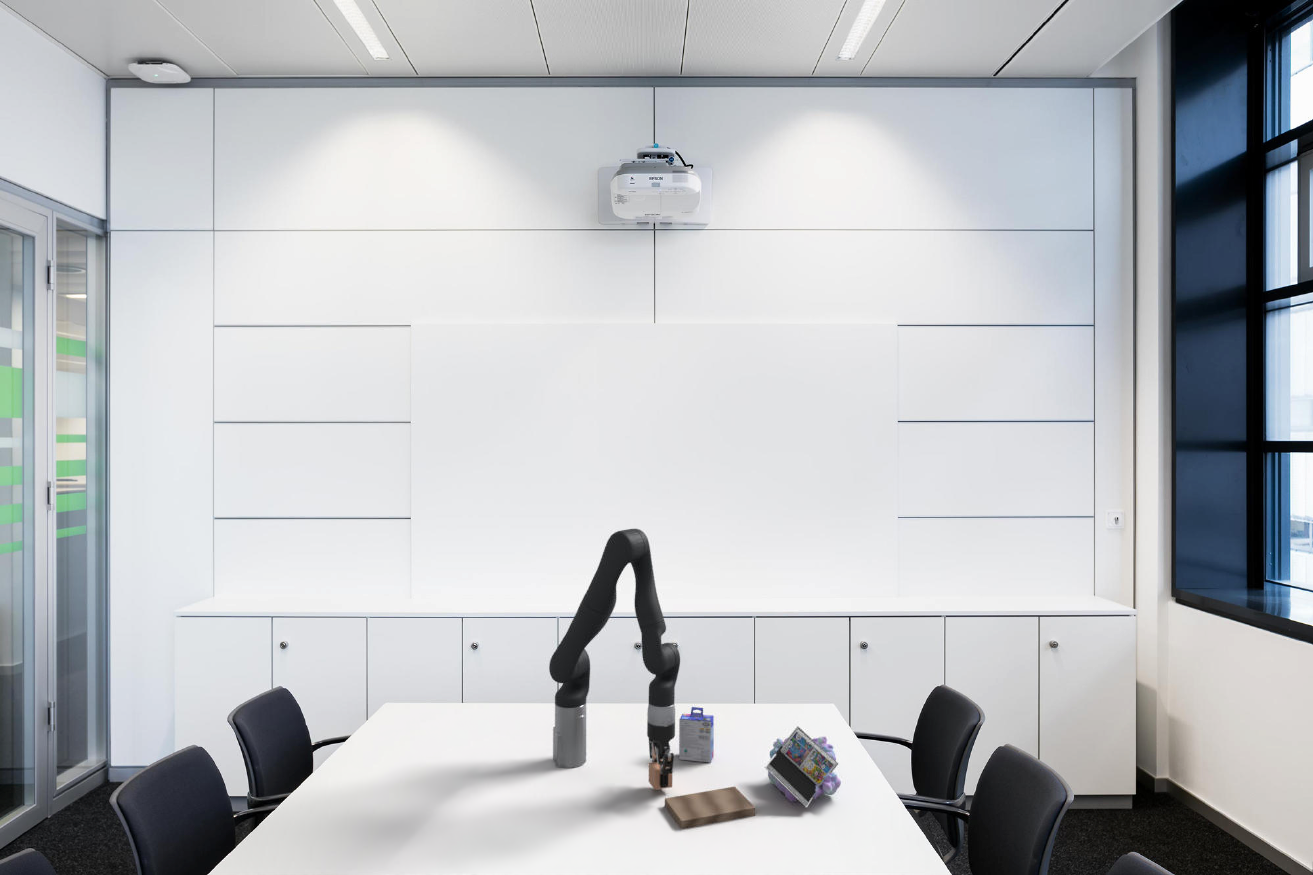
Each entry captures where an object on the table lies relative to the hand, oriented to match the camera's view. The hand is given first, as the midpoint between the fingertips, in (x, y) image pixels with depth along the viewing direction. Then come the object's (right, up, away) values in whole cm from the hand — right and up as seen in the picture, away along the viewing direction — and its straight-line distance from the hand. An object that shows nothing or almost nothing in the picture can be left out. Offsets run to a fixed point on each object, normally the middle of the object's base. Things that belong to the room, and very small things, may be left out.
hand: (660, 781), depth 201 cm
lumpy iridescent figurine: (+39, -3, 0) cm, 39 cm away
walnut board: (+13, -2, -11) cm, 17 cm away
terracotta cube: (0, -1, 0) cm, 1 cm away
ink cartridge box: (+11, -3, +21) cm, 23 cm away
